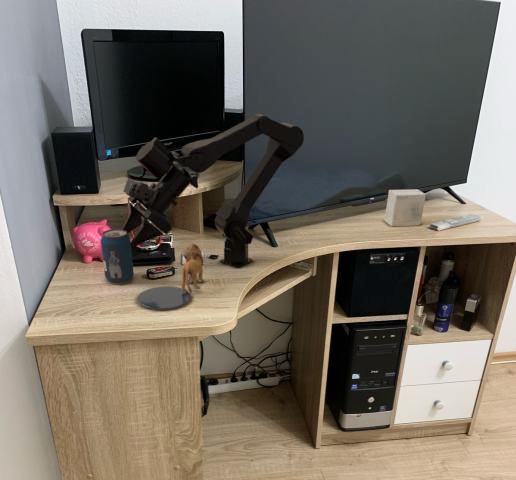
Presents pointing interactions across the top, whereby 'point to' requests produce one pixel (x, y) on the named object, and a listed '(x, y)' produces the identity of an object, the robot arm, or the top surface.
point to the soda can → (117, 256)
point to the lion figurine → (192, 267)
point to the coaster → (163, 298)
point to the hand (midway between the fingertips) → (127, 239)
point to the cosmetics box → (404, 207)
